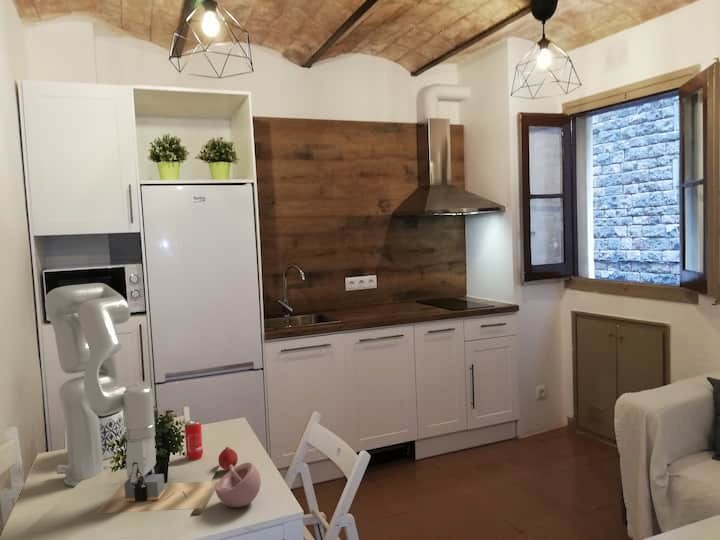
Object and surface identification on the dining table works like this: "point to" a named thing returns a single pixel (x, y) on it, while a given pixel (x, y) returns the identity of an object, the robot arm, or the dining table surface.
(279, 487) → the dining table surface
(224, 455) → the pomegranate
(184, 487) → the oak board
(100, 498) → the dining table surface
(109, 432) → the planter
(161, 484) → the block
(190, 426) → the beverage can
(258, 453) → the dining table surface
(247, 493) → the mortar and pestle
